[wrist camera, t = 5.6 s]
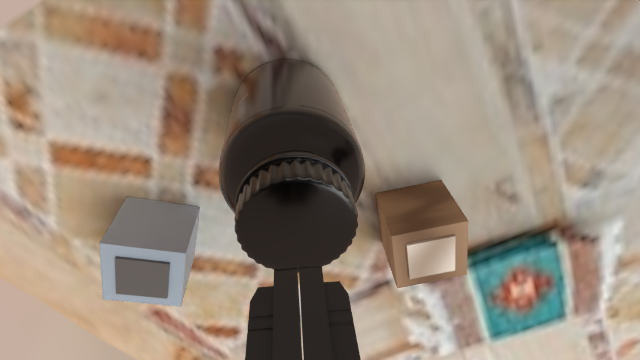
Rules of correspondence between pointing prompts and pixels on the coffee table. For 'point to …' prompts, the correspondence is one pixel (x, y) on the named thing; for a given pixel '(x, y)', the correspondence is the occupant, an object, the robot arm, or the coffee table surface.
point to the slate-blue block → (149, 252)
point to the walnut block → (423, 233)
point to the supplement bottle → (291, 167)
